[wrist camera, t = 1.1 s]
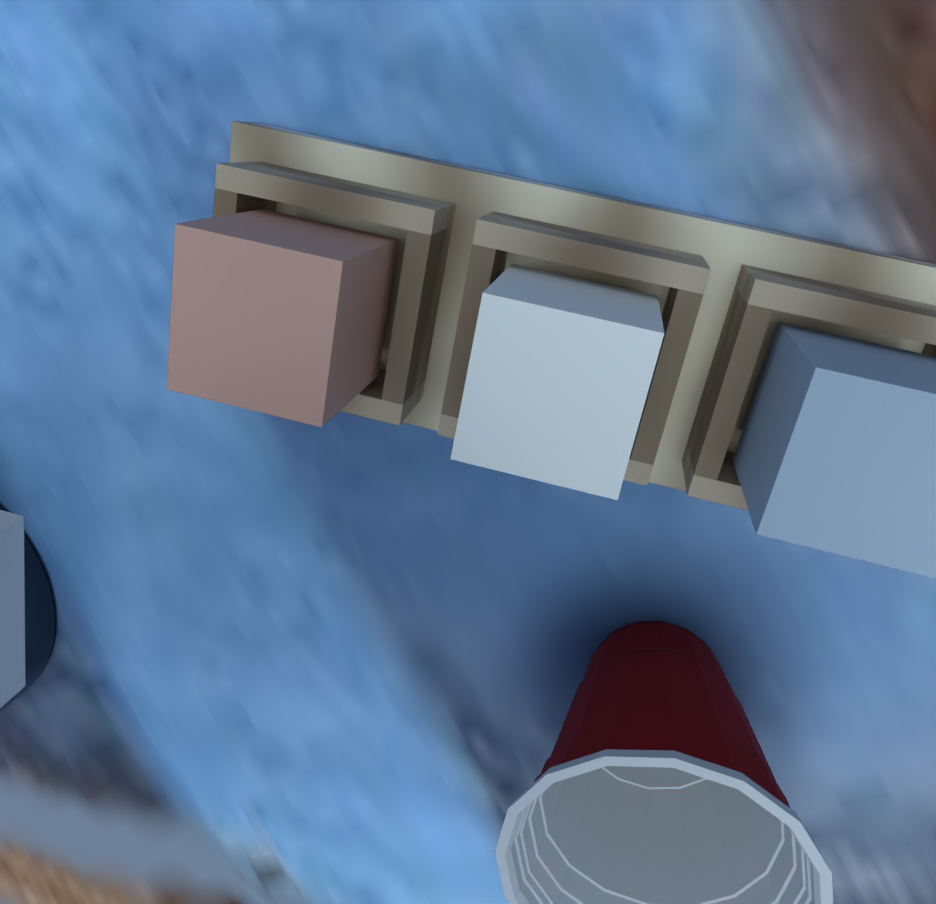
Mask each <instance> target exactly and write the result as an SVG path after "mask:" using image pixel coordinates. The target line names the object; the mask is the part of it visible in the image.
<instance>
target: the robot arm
mask: <svg viewBox="0 0 936 904" xmlns="http://www.w3.org/2000/svg"><path fill="white" fill-rule="evenodd" d="M54 633H55V613H54V605H53V599H52V594H51V591H50V587H49V584H48V581H47V578H46V575H45V573H44V570H43V568H42V565H41V563H40V561H39V559H38V557H37V555H36V553H35V552H34V550H33V548H32V546H31V545H30V543H29V542H28V540H27V539H26V537H25V536H24V516H21V515H17V514H14V513H10V512H6V511H4V510H3V509H2V508H1V507H0V711H2V710H3V709H4V708H5V707H6V706H8V705H9V704H10V703H11V702H12V701H13V700H14V699H15V698H17V697H18V696H19V695H20V694H21V693H22V692H23V691H24V690H26V689H27V688H28V687H29V686H30V685H31V684H32V683H33V682H34V681H35V680H36V679H37V677H38V676H39V675H40V673H41V672H42V670H43V669H44V667H45V665H46V663H47V661H48V658H49V656H50V653H51V650H52V645H53V641H54Z"/></svg>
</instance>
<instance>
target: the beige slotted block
mask: <svg viewBox="0 0 936 904" xmlns="http://www.w3.org/2000/svg"><path fill="white" fill-rule="evenodd" d="M258 209H265V210H269V211H274V212H279V213H283V214H288V215H292V216H297V217H301V218H306V219H310V220H315V221H320V222H324V223H329V224H333V225H338V226H342V227H347V228H352V229H356V230H361V231H365V232H370V233H374V234H379V235H383V236H388V237H393V238H397V239H399V241H398V247H397V254H396V261H395V267H394V274H393V280H392V287H391V294H390V300H389V307H388V313H387V320H386V327H385V333H384V340H383V347H382V353H381V360H380V366H379V373H378V377H377V378H375V379H374V380H373V381H372V382H371V383H370V384H369V385H368V386H367V387H366V388H364V389H363V390H362V391H361V392H360V393H359V394H358V395H357V396H356V397H355V398H354V399H352V400H351V401H350V402H349V403H348V404H347V405H346V406H345V407H344V408H343V409H341V410H340V411H341V412H345V413H349V414H354V415H358V416H362V417H366V418H370V419H374V420H378V421H382V422H386V423H391V424H395V425H399V426H400V425H401V423H402V422H403V423H407V424H411V425H415V426H419V427H423V428H427V429H431V430H435V431H438V433H437V435H440V436H444V437H448V438H452V439H454V438H455V433H456V428H457V422H458V417H459V412H460V407H461V402H462V397H463V391H464V386H465V381H466V376H467V371H468V365H469V360H470V355H471V350H472V345H473V340H474V334H475V329H476V324H477V319H478V314H479V308H480V303H481V298H482V293H483V292H484V291H485V290H486V289H487V288H488V287H489V286H490V285H491V284H492V283H493V282H494V281H495V280H496V279H497V278H498V277H499V276H500V275H501V274H502V273H503V272H504V271H505V270H506V269H507V268H508V267H509V266H510V265H511V264H516V265H520V266H525V267H529V268H534V269H538V270H543V271H548V272H552V273H557V274H561V275H566V276H570V277H575V278H580V279H584V280H589V281H593V282H598V283H602V284H607V285H611V286H616V287H621V288H625V289H630V290H634V291H639V292H643V293H648V294H653V295H657V296H658V299H659V305H660V311H661V317H662V322H663V328H664V337H663V340H662V344H661V347H660V351H659V354H658V358H657V361H656V365H655V369H654V372H653V376H652V379H651V383H650V386H649V390H648V393H647V397H646V401H645V404H644V408H643V411H642V415H641V418H640V422H639V426H638V429H637V433H636V436H635V440H634V443H633V447H632V450H631V454H630V458H629V461H628V465H627V468H626V472H625V475H624V479H623V480H625V481H629V482H633V483H637V484H641V485H645V486H647V485H648V482H650V483H654V484H658V485H662V486H666V487H670V488H674V489H678V490H683V491H687V496H691V497H695V498H699V499H703V500H707V501H711V502H715V503H719V504H723V505H728V506H732V507H736V508H740V509H744V510H748V507H747V504H746V500H745V497H744V494H743V491H742V488H741V485H740V482H739V478H738V475H737V472H736V469H735V466H734V463H733V458H734V455H735V452H736V449H737V446H738V443H739V440H740V437H741V434H742V431H743V428H744V425H745V422H746V419H747V416H748V413H749V410H750V407H751V404H752V401H753V398H754V395H755V392H756V389H757V386H758V383H759V380H760V377H761V374H762V371H763V368H764V365H765V362H766V359H767V356H768V353H769V350H770V347H771V344H772V341H773V338H774V335H775V332H776V329H777V326H778V323H779V322H780V323H785V324H789V325H794V326H798V327H803V328H808V329H812V330H817V331H821V332H826V333H830V334H835V335H839V336H844V337H849V338H853V339H858V340H862V341H867V342H871V343H876V344H881V345H885V346H890V347H894V348H899V349H903V350H908V351H912V352H917V353H922V354H926V355H931V356H935V357H936V264H932V263H927V262H923V261H918V260H913V259H908V258H903V257H899V256H894V255H889V254H884V253H879V252H875V251H870V250H865V249H860V248H855V247H851V246H846V245H841V244H836V243H831V242H827V241H822V240H817V239H812V238H807V237H803V236H798V235H793V234H788V233H783V232H778V231H774V230H769V229H764V228H759V227H754V226H750V225H745V224H740V223H735V222H730V221H726V220H721V219H716V218H711V217H706V216H702V215H697V214H692V213H687V212H682V211H678V210H673V209H668V208H663V207H658V206H654V205H649V204H644V203H639V202H634V201H630V200H625V199H620V198H615V197H610V196H606V195H601V194H596V193H591V192H586V191H582V190H577V189H572V188H567V187H562V186H557V185H553V184H548V183H543V182H538V181H533V180H529V179H524V178H519V177H514V176H509V175H505V174H500V173H495V172H490V171H485V170H481V169H476V168H471V167H466V166H461V165H457V164H452V163H447V162H442V161H437V160H433V159H428V158H423V157H418V156H413V155H409V154H404V153H399V152H394V151H389V150H385V149H380V148H375V147H370V146H365V145H360V144H356V143H351V142H346V141H341V140H336V139H332V138H327V137H322V136H317V135H312V134H308V133H303V132H298V131H293V130H288V129H284V128H279V127H274V126H269V125H264V124H260V123H255V122H238V121H232V131H231V144H230V158H229V163H217V166H216V181H215V196H214V210H213V217H218V216H224V215H229V214H235V213H241V212H247V211H252V210H258ZM748 511H749V510H748Z"/></svg>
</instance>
